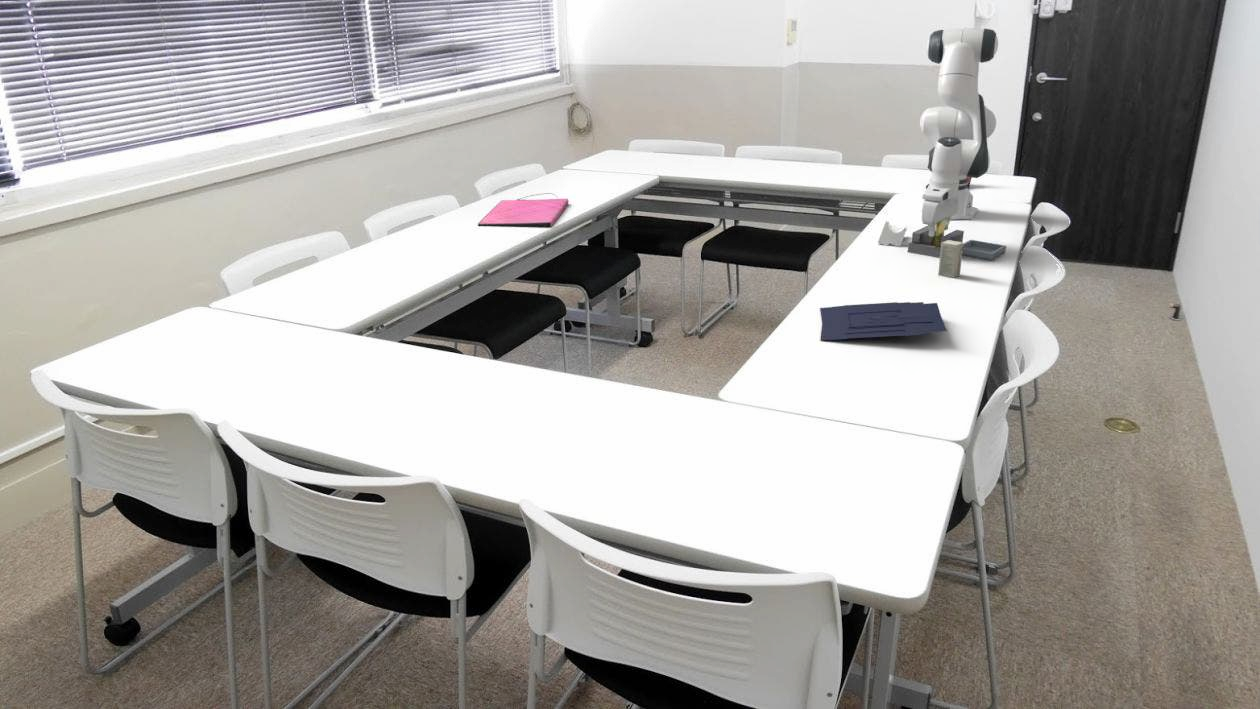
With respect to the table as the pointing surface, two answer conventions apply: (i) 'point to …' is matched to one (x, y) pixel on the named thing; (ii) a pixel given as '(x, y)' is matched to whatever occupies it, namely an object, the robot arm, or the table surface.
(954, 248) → the skincare box
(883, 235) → the bracket
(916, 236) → the clevis block
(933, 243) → the pin
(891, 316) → the navy flat slab
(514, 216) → the laptop bag
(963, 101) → the robot arm
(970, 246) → the tray
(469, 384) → the table surface
